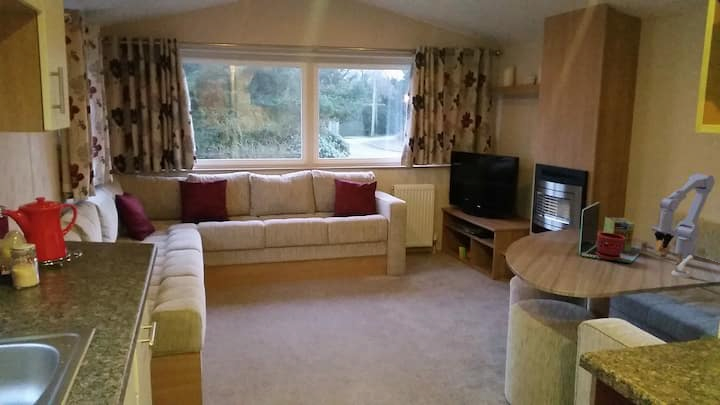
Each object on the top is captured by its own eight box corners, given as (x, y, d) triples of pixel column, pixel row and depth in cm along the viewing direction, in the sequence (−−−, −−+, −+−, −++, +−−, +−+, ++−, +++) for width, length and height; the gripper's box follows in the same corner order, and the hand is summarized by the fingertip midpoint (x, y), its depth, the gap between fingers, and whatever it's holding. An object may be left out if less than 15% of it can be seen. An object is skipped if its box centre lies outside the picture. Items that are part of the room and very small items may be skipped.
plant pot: (611, 262, 264) (614, 239, 262) (589, 255, 276) (592, 232, 274) (628, 260, 270) (631, 237, 268) (606, 252, 282) (609, 231, 280)
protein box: (610, 250, 287) (614, 222, 284) (601, 243, 302) (605, 216, 299) (630, 252, 286) (635, 224, 283) (620, 244, 301) (624, 217, 298)
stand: (645, 251, 288) (647, 241, 287) (684, 263, 268) (685, 253, 267) (638, 252, 286) (639, 242, 285) (676, 264, 266) (677, 254, 265)
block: (661, 255, 279) (666, 245, 279) (665, 256, 277) (671, 246, 277) (653, 249, 276) (658, 239, 276) (657, 251, 273) (662, 241, 273)
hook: (706, 267, 245) (697, 260, 243) (685, 285, 248) (677, 278, 246) (695, 259, 252) (687, 252, 250) (675, 277, 255) (667, 269, 253)
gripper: (648, 218, 278) (644, 243, 281) (673, 225, 265) (669, 251, 268) (657, 218, 281) (653, 242, 284) (683, 224, 268) (679, 250, 271)
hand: (662, 247), depth 276 cm, fingers closed on block, 3 cm apart
